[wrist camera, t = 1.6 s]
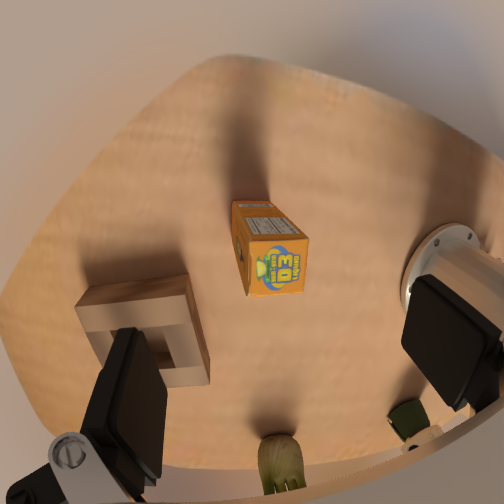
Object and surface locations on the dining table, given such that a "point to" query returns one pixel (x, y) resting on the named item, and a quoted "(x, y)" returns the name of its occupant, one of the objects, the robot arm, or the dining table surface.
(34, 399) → the dining table surface
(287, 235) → the supplement box
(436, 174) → the dining table surface
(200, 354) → the square wooden frame
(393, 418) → the character mug
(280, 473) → the fennel bulb
